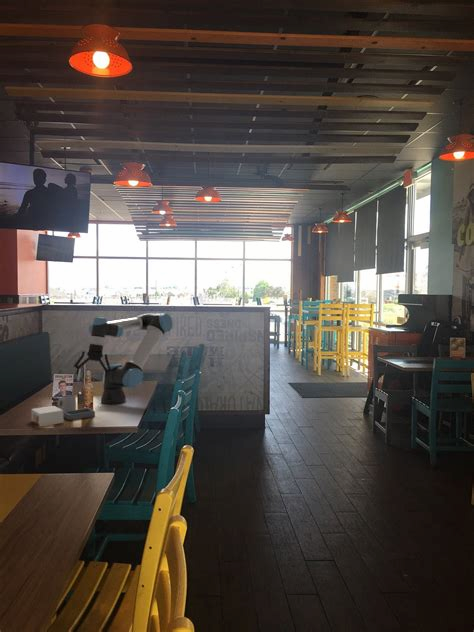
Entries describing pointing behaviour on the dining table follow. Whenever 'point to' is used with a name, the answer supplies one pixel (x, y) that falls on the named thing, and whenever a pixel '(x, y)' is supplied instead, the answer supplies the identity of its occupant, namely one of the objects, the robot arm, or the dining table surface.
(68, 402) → the cup
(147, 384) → the dining table surface
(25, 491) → the dining table surface
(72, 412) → the grey storage tray
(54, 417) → the small white side table
